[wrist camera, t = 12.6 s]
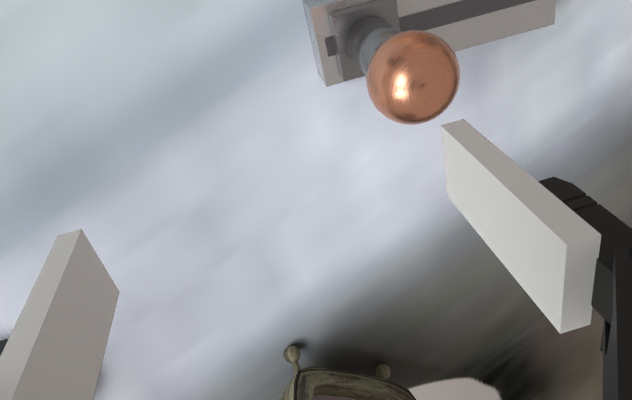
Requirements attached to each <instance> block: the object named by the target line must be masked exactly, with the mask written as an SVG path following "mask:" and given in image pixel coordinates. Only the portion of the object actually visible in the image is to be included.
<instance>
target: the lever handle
mask: <svg viewBox="0 0 632 400" xmlns="http://www.w3.org/2000/svg"><path fill="white" fill-rule="evenodd" d="M328 17H329V22H330V27H331V32H332V38H333V43H334V48H335V53H336V58H337V63H338V69H339V74H340V77H341V78H342V79H343V81H347V80H351V79H355V78H358V77H362V76H365V75H366V76H367V80H366V81H367V89H368V93H369V96H370V98H371V100H372V102H373V104H374V106H375V107H376V108H377V109H378V110H379V111H380V112H381V113H382V114H383V115H384V116H386V117H387V118H389V119H391V120H393V121H395V122H398V123H402V124H420V123H424V122H427V121H430V120H432V119H434V118H436V117H437V116H439V115H440V114H441V113H443V112H444V111H445V110H446V109H447V108H448V106H449V105H450V104H451V102H452V101H453V99H454V97H455V95H456V93H457V90H458V86H459V80H460V69H459V64H458V61H457V58H456V55H455V53H454V52H453V50H452V49H451V47H450V46H449V45H448V44H447V43H446V42H445V41H444V40H443V39H442V38H440V37H439V36H437V35H435V34H432V33H430V32H427V31H422V30H409V31H404V32H402V31H400V24H399V16H398V8H397V0H376V1H372V2H368V3H365V4H361V5H357V6H353V7H350V8H346V9H342V10H339V11H335V12H331V13H328Z"/></svg>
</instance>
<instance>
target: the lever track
mask: <svg viewBox="0 0 632 400" xmlns="http://www.w3.org/2000/svg"><path fill="white" fill-rule="evenodd" d="M372 1H376V0H304V1H302V2H303V6H304V11H305V15H306V20H307V25H308V29H309V34H310V38H311V43H312V48H313V52H314V57H315V61H316V66H317V70H318V74H319V76H320V77H321V79H322V80H323V82H324V84H325V85H326V87H327V86H331V85H334V84H338V83H342V82H345V81H343V79H342V78H341V77H340V74H339V69H338V63H337V58H336V53H335V48H334V43H333V38H332V32H331V27H330V22H329V17H328V13H331V12H335V11H339V10H342V9H346V8H350V7H353V6H357V5H361V4H365V3H368V2H372ZM397 8H398V16H399V24H400V31H402V32H404V31H409V30H422V31H427V32H430V33H432V34H435V35H437V36H439V37H440V38H442V39H443V40H444V41H445V42H446V43H447V44H448V45H449V46H450V47H451V49H452V50H453V52H454V51H458V50H461V49H465V48H469V47H472V46H476V45H479V44H483V43H487V42H490V41H494V40H498V39H501V38H505V37H509V36H512V35H516V34H519V33H523V32H527V31H530V30H534V29H538V28H541V27H545V26H548V25H552V24H554V19H555V0H397ZM365 76H366V75H365ZM362 77H363V76H362ZM358 78H360V77H358ZM355 79H356V78H355ZM351 80H352V79H351ZM347 81H349V80H347Z"/></svg>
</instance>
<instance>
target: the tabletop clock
mask: <svg viewBox="0 0 632 400" xmlns="http://www.w3.org/2000/svg"><path fill="white" fill-rule="evenodd" d="M284 358H285V360H286V361H287V362H289V363H292V364H293V369H294V373H295V376H294V377H293V379H292V380H291V382H290V384H289V385H288V387H287V389H286V390H285V392H284V393H283V395H282V397H281V398H280V400H416V399H415V398H414V396H413V395H412V394H411V392H410V391H409V390H407V389H406V388H404V387H402V386H400V385H398V384H396V383H393V382H391V381H388V380H387V379H388V378H389V377H390V375H391V371H390V368H389V367H388V366H387V365H385V364H381V365H379V366H378V367H377V368H376V376H377V377H378V378H377V377H373V376H369V375H365V374H361V373H357V372H353V371H345V370H337V369H329V368H319V367H311V368H305V369H300V367H299V364H298V362H297V361H298V360H299V358H300V352H299V349H298V348H297V347H295V346H289V347H287V348H286V349H285V351H284Z"/></svg>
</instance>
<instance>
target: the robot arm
mask: <svg viewBox="0 0 632 400" xmlns="http://www.w3.org/2000/svg"><path fill="white" fill-rule="evenodd" d="M441 131H442V143H443V154H444V165H445V176H446V187H447V196H448V197H449V198H450V200H451V201H452V202H453V203H454V204H455V206H456V207H457V208H458V209H459V211H460V212H461V213H462V214H463V215H464V217H465V218H466V219H467V220H468V222H469V223H470V224H471V225H472V227H473V228H474V229H475V230H476V231H477V233H478V234H479V235H480V236H481V238H482V239H483V240H484V241H485V242H486V244H487V245H488V246H489V247H490V249H491V250H492V251H493V252H494V253H495V255H496V256H497V257H498V258H499V260H500V261H501V262H502V263H503V264H504V266H505V267H506V268H507V269H508V271H509V272H510V273H511V274H512V275H513V277H514V278H515V279H516V280H517V282H518V283H519V284H520V285H521V286H522V288H523V289H524V290H525V291H526V293H527V294H528V295H529V296H530V297H531V299H532V300H533V301H534V302H535V304H536V305H537V306H538V307H539V308H540V310H541V311H542V312H543V313H544V315H545V316H546V317H547V318H548V319H549V321H550V322H551V323H552V324H553V326H554V327H555V328H556V329H557V330H558V332H559V333H560V334H561V333H564V332H568V331H571V330H574V329H577V328H581V327H584V326H587V325H590V323H591V315H592V307H593V308H594V309H595V310H596V311H597V312H598V313H599V314H600V315H601V316H602V317H603V318H604V319H605V320H604V327H603V334H602V341H601V348H600V351H603V400H632V229H631V228H630V227H629V226H627V225H626V224H625V223H623V222H622V221H621V220H620V219H618V218H617V217H616V216H614V215H613V214H612V213H610V212H609V211H608V210H606V209H605V208H604V207H602V206H601V205H600V204H599V205H598V204H597V202H596V201H595V200H593V199H592V198H591V197H589V196H586V194H585V193H584V192H583V191H582V190H580V189H579V188H578V187H576V186H575V185H574V184H572V183H569V182H567V181H564V180H561V179H558V178H556V177H551V178H548V179H545V180H541V181H537V180H535V179H534V178H533V177H532V176H531V175H530V174H528V173H527V172H526V171H525V170H524V169H522V168H521V167H520V166H519V165H518V164H516V163H515V162H514V161H513V160H512V159H510V158H509V157H508V156H507V155H506V154H504V153H503V152H502V151H501V150H500V149H498V148H497V147H496V146H495V145H494V144H493V143H491V142H490V141H489V140H488V139H487V138H485V137H484V136H483V135H482V134H481V133H479V132H478V131H477V130H476V129H475V128H473V127H472V126H471V125H470V124H469V123H467V122H466V121H465V120H464V119H462V120H459V121H455V122H452V123H448V124H445V125H441ZM118 296H119V290H118V289H117V287H116V285H115V284H114V282H113V280H112V279H111V277H110V275H109V274H108V272H107V270H106V269H105V267H104V265H103V264H102V262H101V260H100V259H99V257H98V255H97V254H96V252H95V250H94V249H93V247H92V246H91V244H90V242H89V241H88V239H87V237H86V236H85V234H84V232H83V231H82V229H80V230H76V231H73V232H69V233H66V234H62V235H59V236H57V238H56V240H55V243H54V245H53V247H52V249H51V251H50V253H49V255H48V257H47V259H46V261H45V264H44V266H43V268H42V270H41V272H40V274H39V276H38V278H37V280H36V282H35V285H34V287H33V289H32V291H31V293H30V295H29V297H28V299H27V301H26V303H25V306H24V308H23V310H22V312H21V314H20V316H19V318H18V320H17V322H16V324H15V327H14V329H13V331H12V333H11V335H10V337H9V339H5V340H2V341H0V400H93V398H94V394H95V389H96V385H97V381H98V377H99V373H100V369H101V365H102V361H103V357H104V353H105V349H106V345H107V340H108V336H109V332H110V328H111V324H112V320H113V316H114V312H115V308H116V304H117V300H118Z"/></svg>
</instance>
